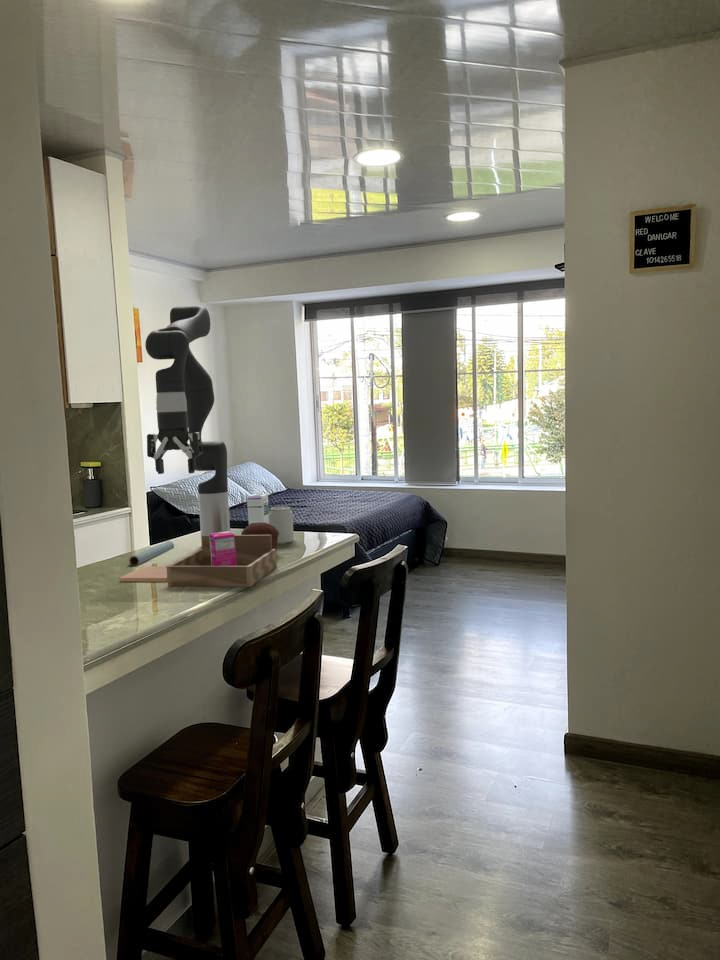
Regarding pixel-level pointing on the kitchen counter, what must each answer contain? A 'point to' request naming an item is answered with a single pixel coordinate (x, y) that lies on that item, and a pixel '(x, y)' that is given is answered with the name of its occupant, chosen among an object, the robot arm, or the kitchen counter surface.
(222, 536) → the supplement box
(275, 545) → the muffin
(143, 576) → the terracotta tile
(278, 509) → the can
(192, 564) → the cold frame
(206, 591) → the kitchen counter surface
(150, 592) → the kitchen counter surface
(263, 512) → the syrup box
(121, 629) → the kitchen counter surface
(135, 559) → the aluminum foil
